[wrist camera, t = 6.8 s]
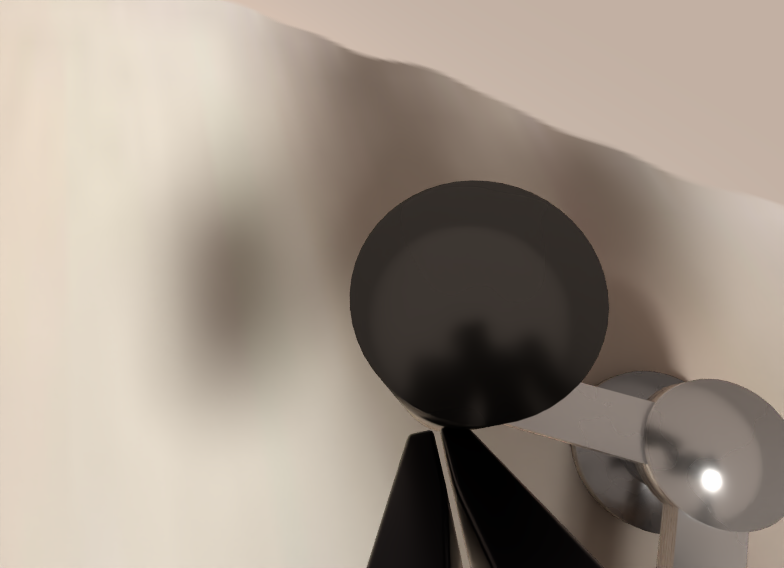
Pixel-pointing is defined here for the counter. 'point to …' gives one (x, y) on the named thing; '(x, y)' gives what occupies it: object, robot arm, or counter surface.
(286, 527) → the counter surface
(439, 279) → the lever
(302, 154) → the counter surface
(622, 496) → the pivot post
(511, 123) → the counter surface
